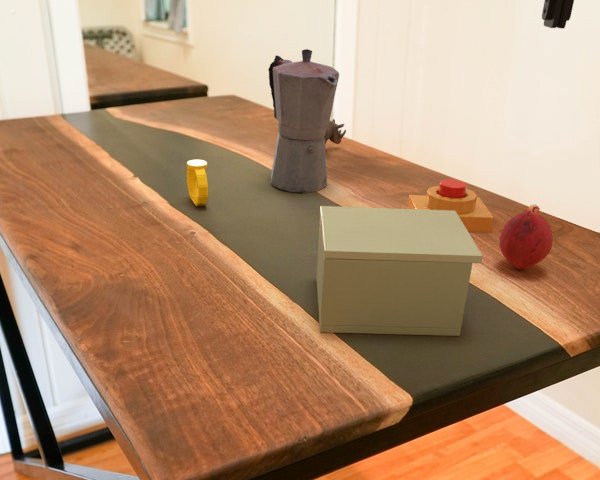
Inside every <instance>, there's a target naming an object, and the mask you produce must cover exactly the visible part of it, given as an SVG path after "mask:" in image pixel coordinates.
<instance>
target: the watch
mask: <svg viewBox="0 0 600 480" xmlns="http://www.w3.org/2000/svg"><path fill="white" fill-rule="evenodd" d="M186 168H187V169H186V184H187V190H188V195H189V198H190V199H189V200H191V201H192V203H193V204H194V205H195V207H204V206H206V205H207V204H208V201H209V183H208V182H209V181H208V176H207V172H206V169H207V168H208V162H207V161H206V160H204V159H191V160H188V161H187V162H186Z"/></svg>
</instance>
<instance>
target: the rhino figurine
mask: <svg viewBox="0 0 600 480" xmlns="http://www.w3.org/2000/svg"><path fill="white" fill-rule="evenodd" d="M344 126H345V123H340V124H337V123H336V119H334V118H333V119H332V120H330V122H329V123H328V124H327V125H326V133H325V136H324V138H325V145H326V144H327V141H330V142H332V143H333V144H335V145H339V144H341V142H342V139H343V138H344V136H345V135H346V134H347V129H344V130H343V132H342V128H344Z"/></svg>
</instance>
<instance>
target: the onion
mask: <svg viewBox="0 0 600 480" xmlns="http://www.w3.org/2000/svg"><path fill="white" fill-rule="evenodd" d="M540 209H541V208H540V207H539V206H538V205H537V204H530V205H529V206H528V207H527V208H526V209H525V210H524V211H523V212H521V213H518V214H516V215H514V216H513V217H512V218H510V219H509V220H508V221H507V222H506V223H505V224H504V226H503V228H502V230H501V233H500V237H499V249H500V252H501V253H502V255H503V257H504V258H505V260H506V261H507V262H508V263H509V264H510V265H511V266H513V268H515V269H517V270H520V271H523V270H526V269H528V268H530V267H532V266H535V265H537V264H539V263H540V262H542V261H544V259H545V258H546V257H547V256H548V255H549V254H550V252H551V251H552V248H553V240H554V239H553V231H552V228H551V225H550V224H549V222H548V221H547V220H546V219H545V217H543V216H542V215H541V214H540V213H539V212H540Z"/></svg>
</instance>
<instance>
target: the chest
mask: <svg viewBox="0 0 600 480" xmlns="http://www.w3.org/2000/svg"><path fill="white" fill-rule="evenodd" d="M316 261H317V263H316V290H317V291H316V292H317V293H316V294H317V306H318V307H317V308H318V325H319V333H332V334H340V333H341V334H367V335H369V334H371V335H404V336H405V335H407V336H409V335H410V336H445V337H446V336H447V337H460V336H461V332H462V325H463V320H464V314H465V307H466V303H467V297H468V291H469V285H470V281H471V275H472V269H473V263H455V262H424V261H393V260H363V259H332V258H324V249H323V238H322V228H321V218H320V217H319V223H318V245H317V260H316Z"/></svg>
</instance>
